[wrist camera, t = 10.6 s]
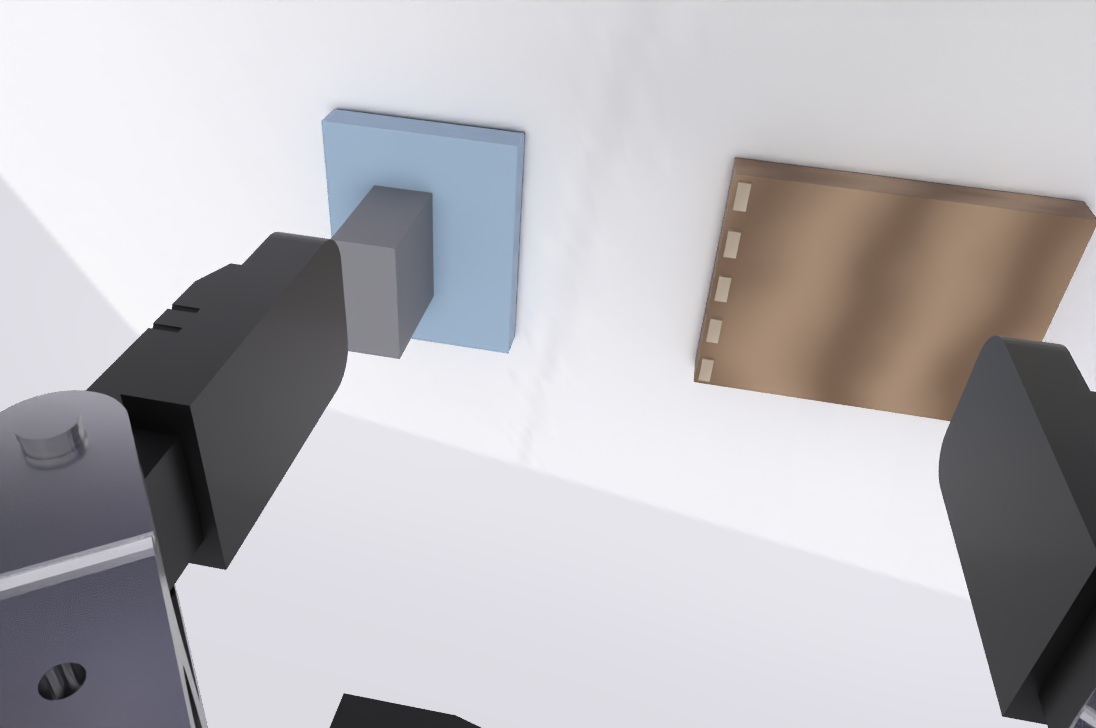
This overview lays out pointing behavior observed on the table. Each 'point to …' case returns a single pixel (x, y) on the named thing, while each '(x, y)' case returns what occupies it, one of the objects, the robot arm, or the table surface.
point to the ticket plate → (877, 284)
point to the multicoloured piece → (424, 230)
